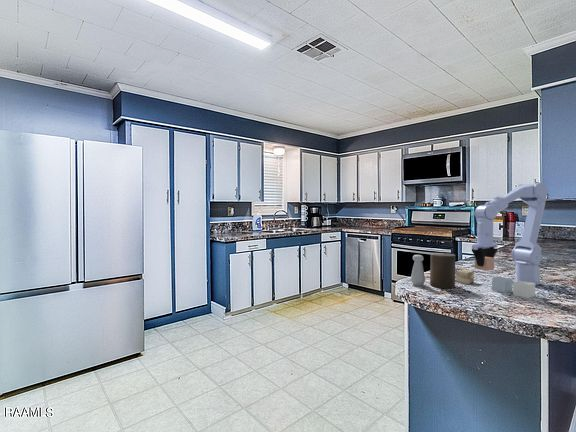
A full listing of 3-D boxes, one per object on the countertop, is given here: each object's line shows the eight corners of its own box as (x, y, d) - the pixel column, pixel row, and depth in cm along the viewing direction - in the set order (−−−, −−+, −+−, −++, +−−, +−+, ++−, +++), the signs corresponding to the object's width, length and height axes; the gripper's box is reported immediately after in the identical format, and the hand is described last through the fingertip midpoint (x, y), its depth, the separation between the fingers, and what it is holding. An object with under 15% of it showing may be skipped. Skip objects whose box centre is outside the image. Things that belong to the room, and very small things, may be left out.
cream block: (520, 293, 125) (520, 280, 124) (535, 296, 120) (535, 283, 120) (513, 294, 122) (513, 282, 122) (527, 298, 118) (528, 285, 118)
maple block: (463, 280, 146) (463, 269, 146) (473, 282, 142) (473, 271, 141) (456, 281, 144) (456, 270, 144) (466, 284, 139) (466, 272, 139)
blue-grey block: (499, 288, 132) (499, 276, 132) (512, 291, 127) (512, 279, 127) (492, 290, 129) (492, 277, 129) (505, 293, 125) (505, 280, 125)
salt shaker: (426, 286, 134) (426, 256, 134) (412, 286, 135) (412, 256, 135) (423, 283, 140) (423, 254, 140) (409, 282, 141) (409, 253, 141)
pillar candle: (449, 290, 129) (450, 253, 129) (425, 285, 136) (426, 250, 136) (458, 286, 135) (459, 251, 135) (435, 282, 143) (436, 249, 142)
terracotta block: (482, 267, 138) (482, 256, 138) (493, 269, 134) (494, 257, 133) (474, 268, 136) (475, 256, 136) (486, 270, 131) (486, 258, 131)
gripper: (486, 232, 141) (485, 262, 141) (465, 233, 135) (464, 265, 135) (502, 233, 135) (502, 265, 135) (481, 235, 128) (480, 268, 129)
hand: (484, 265), depth 135 cm, fingers closed on terracotta block, 5 cm apart
